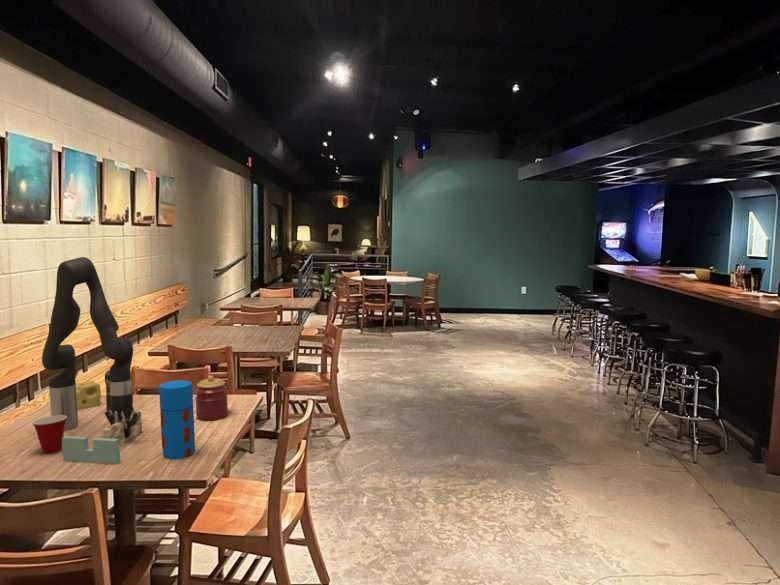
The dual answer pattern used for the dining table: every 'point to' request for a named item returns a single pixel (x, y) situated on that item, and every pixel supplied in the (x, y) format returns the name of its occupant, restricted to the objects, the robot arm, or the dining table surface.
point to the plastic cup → (50, 432)
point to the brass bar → (122, 430)
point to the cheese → (88, 395)
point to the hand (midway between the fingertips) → (124, 437)
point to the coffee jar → (108, 390)
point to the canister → (211, 399)
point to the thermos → (177, 419)
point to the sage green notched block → (91, 450)
